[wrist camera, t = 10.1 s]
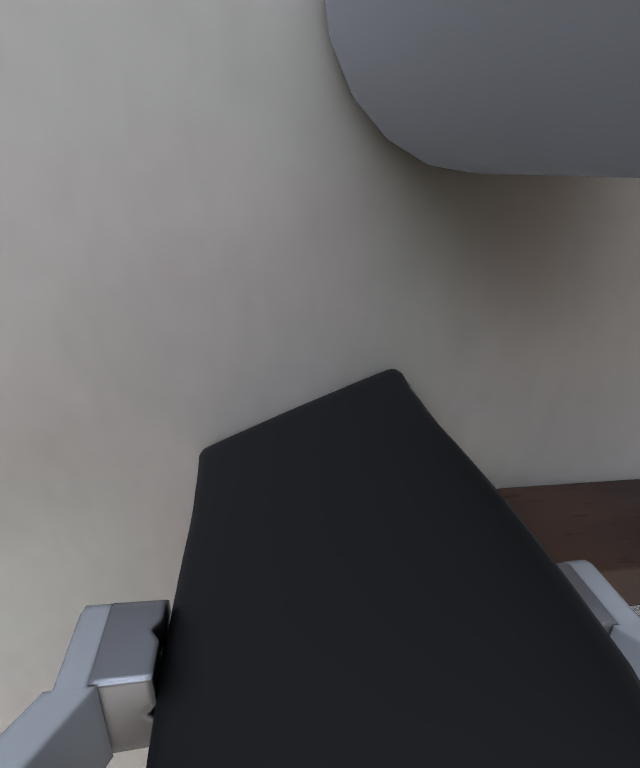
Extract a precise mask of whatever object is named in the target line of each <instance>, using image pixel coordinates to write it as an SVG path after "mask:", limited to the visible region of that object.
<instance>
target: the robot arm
mask: <svg viewBox="0 0 640 768" xmlns="http://www.w3.org/2000/svg"><path fill="white" fill-rule="evenodd" d="M556 564H557V565H558V566H559V568H560V569H561V570H562V572H563V573H564V574H565V576H566V577H567V578H568V580H569V581H570V582H571V584H572V585H573V586H574V588H575V589H576V590H577V592H578V593H579V595H580V596H581V597H582V599H583V600H584V601H585V603H586V604H587V605H588V607H589V608H590V609H591V611H592V612H593V613H594V615H595V616H596V618H597V619H598V620H599V622H600V623H601V624H602V626H603V627H604V629H605V630H606V631H607V633H608V634H609V635H610V637H611V638H612V640H613V641H614V642H615V644H616V645H617V647H618V648H619V649H620V651H621V652H622V653H623V655H624V656H625V658H626V659H627V660H628V662H629V663H630V665H631V666H632V668H633V669H634V671H635V673H636V674H637V676H638V677H639V678H640V617H639V616H638V615H637V614H636V613H635V612H634V611H633V610H632V608H631V607H630V606H629V605H628V604H627V603H626V602H625V601H624V599H623V598H622V597H621V596H620V595H619V594H618V593H617V591H616V590H615V589H614V588H613V587H612V586H611V585H610V584H609V582H608V581H607V580H606V579H605V578H604V577H603V576H602V575H601V573H600V572H599V571H598V570H597V569H596V568H595V567H594V566H593V565H592V564H591V563H590V562H588V561H586V560H577V561H567V562H556ZM170 617H171V609H170V603H169V600H156V601H141V602H126V603H114V604H102V605H89V606H86V607H85V608H84V610H83V611H82V613H81V614H80V617H79V619H78V622H77V625H76V628H75V630H74V633H73V636H72V638H71V641H70V644H69V647H68V649H67V652H66V655H65V658H64V660H63V663H62V666H61V668H60V671H59V674H58V677H57V679H56V682H55V685H54V687H53V690H52V691H48V692H43V693H42V694H41V695H40V696H39V697H38V698H37V699H36V700H35V701H34V702H33V703H32V704H31V705H30V706H29V707H28V708H27V709H26V710H25V711H24V712H23V713H22V714H21V715H20V716H19V717H18V718H17V719H16V720H15V721H14V722H13V723H12V724H11V725H10V726H9V727H8V728H7V729H6V730H5V731H4V732H3V733H2V734H1V735H0V768H106V766H107V765H108V763H109V762H110V760H111V759H112V758H113V754H112V753H116V752H122V751H128V750H134V749H140V748H146V747H149V745H150V738H151V731H152V724H153V718H154V711H155V704H156V698H157V691H158V685H159V680H160V674H161V668H162V662H163V657H164V651H165V645H166V639H167V634H168V629H169V623H170Z"/></svg>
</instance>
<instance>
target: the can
mask: <svg viewBox="0 0 640 768" xmlns="http://www.w3.org/2000/svg"><path fill="white" fill-rule="evenodd" d="M325 7H326V15H327V23H328V31H329V38H330V41H331V43H332V46H333V48H334V51H335V53H336V56H337V58H338V61H339V63H340V66H341V68H342V71H343V73H344V76H345V78H346V81H347V83H348V86H349V88H350V91H351V93H352V96H353V97H354V99H355V100H356V101H357V102H358V104H359V105H360V106H361V107H362V109H363V110H364V111H365V112H366V114H367V115H368V116H369V117H370V119H371V120H372V121H373V122H374V123H375V125H376V126H377V127H378V128H379V130H380V131H381V132H382V133H383V135H384V136H385V137H386V138H387V140H389V141H391V142H392V143H394V144H396V145H397V146H399V147H400V148H402V149H404V150H405V151H407V152H409V153H410V154H412V155H413V156H415V157H417V158H418V159H420V160H421V161H423V162H425V163H426V164H428V165H431V166H437V167H442V168H447V169H453V170H458V171H464V172H469V173H476V174H516V175H555V176H594V177H633V178H640V0H325Z"/></svg>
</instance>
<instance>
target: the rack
mask: <svg viewBox="0 0 640 768" xmlns="http://www.w3.org/2000/svg"><path fill="white" fill-rule="evenodd" d="M497 490H498V492H499V493H500V494H501V495H502V496H503V497H504V499H505V500H506V501H507V502H508V503H509V504H510V506H511V507H512V508H513V509H514V511H515V512H516V513H517V514H518V516H519V517H520V518H521V519H522V520H523V522H524V523H525V524H526V525H527V527H528V528H529V529H530V530H531V532H532V533H533V534H534V535H535V537H536V538H537V539H538V540H539V542H540V543H541V544H542V545H543V547H544V548H545V549H546V551H547V552H548V553H549V555H550V556H551V557H552V559H553V560H554V561H555V562H567V561H577V560H586V561H588V562H590V563H591V564H592V565H593V566H594V567H595V568H596V569H597V570H598V571H599V572H600V573H601V575H602V576H603V577H604V578H605V579H606V580H607V581H608V582H609V584H610V585H611V586H612V587H613V588H614V589H615V590H616V591H617V593H618V594H619V595H620V596H621V597H622V598H623V599H624V601H625V602H626V603H627V604H628V605H629V606H633V605H640V479H637V480H622V481H608V482H593V483H578V484H563V485H548V486H533V487H518V488H503V489H497Z"/></svg>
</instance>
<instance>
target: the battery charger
mask: <svg viewBox="0 0 640 768" xmlns="http://www.w3.org/2000/svg"><path fill="white" fill-rule="evenodd" d="M146 768H640V678H639V677H638V676H637V674H636V673H635V671H634V669H633V668H632V666H631V665H630V663H629V662H628V660H627V659H626V658H625V656H624V655H623V653H622V652H621V651H620V649H619V648H618V647H617V645H616V644H615V642H614V641H613V640H612V638H611V637H610V635H609V634H608V633H607V631H606V630H605V629H604V627H603V626H602V624H601V623H600V622H599V620H598V619H597V618H596V616H595V615H594V613H593V612H592V611H591V609H590V608H589V607H588V605H587V604H586V603H585V601H584V600H583V599H582V597H581V596H580V595H579V593H578V592H577V590H576V589H575V588H574V586H573V585H572V584H571V582H570V581H569V580H568V578H567V577H566V576H565V574H564V573H563V572H562V570H561V569H560V568H559V566H558V565H557V564H556V562H555V561H554V560H553V559H552V557H551V556H550V555H549V553H548V552H547V551H546V549H545V548H544V547H543V545H542V544H541V543H540V542H539V540H538V539H537V538H536V537H535V535H534V534H533V533H532V532H531V530H530V529H529V528H528V527H527V525H526V524H525V523H524V522H523V520H522V519H521V518H520V517H519V516H518V514H517V513H516V512H515V511H514V509H513V508H512V507H511V506H510V504H509V503H508V502H507V501H506V500H505V499H504V497H503V496H502V495H501V494H500V493H499V492H498V490H497V489H496V488H495V487H494V486H493V485H492V484H491V482H490V481H489V480H488V479H487V478H486V477H485V475H484V474H483V473H482V472H481V471H480V470H479V469H478V468H477V466H476V465H475V464H474V463H473V462H472V461H471V459H470V458H469V457H468V456H467V455H466V454H465V453H464V452H463V450H462V449H461V448H460V447H459V446H458V445H457V444H456V443H455V442H454V441H453V439H452V438H451V437H450V436H449V435H448V434H447V433H446V432H445V431H444V430H443V429H442V428H441V427H440V425H439V424H438V423H437V422H436V421H435V419H434V418H433V417H432V416H431V414H430V413H429V412H428V411H427V409H426V408H425V406H424V405H423V404H422V402H421V401H420V399H419V398H418V397H417V395H416V394H415V392H414V391H413V389H412V388H411V386H410V385H409V384H408V383H407V381H406V380H405V378H404V376H403V375H402V373H400V372H399V371H397V370H396V369H390V370H386V371H384V372H381V373H379V374H376V375H374V376H371V377H369V378H366V379H364V380H362V381H359V382H357V383H354V384H352V385H349V386H347V387H345V388H342V389H340V390H338V391H335V392H333V393H331V394H328V395H326V396H323V397H321V398H319V399H316V400H314V401H312V402H309V403H307V404H304V405H302V406H300V407H297V408H295V409H293V410H290V411H288V412H286V413H284V414H281V415H279V416H277V417H275V418H272V419H270V420H268V421H265V422H263V423H261V424H259V425H256V426H254V427H252V428H249V429H247V430H245V431H243V432H240V433H238V434H236V435H234V436H231V437H229V438H227V439H225V440H223V441H220V442H218V443H216V444H214V445H211V446H209V447H207V448H206V449H204V450H203V451H202V452H201V454H200V456H199V467H198V477H197V485H196V491H195V499H194V506H193V512H192V518H191V524H190V529H189V533H188V538H187V542H186V546H185V551H184V555H183V560H182V565H181V570H180V574H179V579H178V584H177V589H176V594H175V599H174V604H173V609H172V614H171V619H170V624H169V629H168V634H167V639H166V645H165V651H164V657H163V662H162V668H161V674H160V680H159V685H158V691H157V698H156V704H155V711H154V718H153V724H152V731H151V738H150V745H149V752H148V759H147V766H146Z"/></svg>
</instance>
